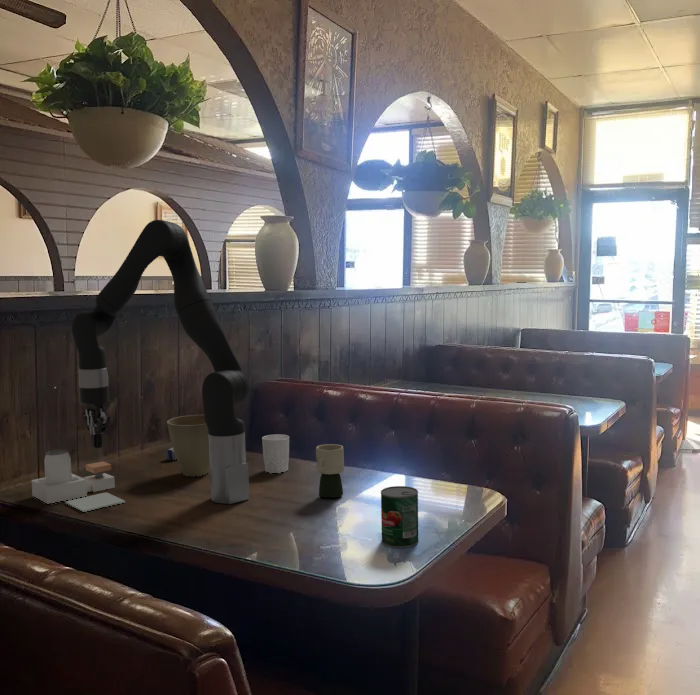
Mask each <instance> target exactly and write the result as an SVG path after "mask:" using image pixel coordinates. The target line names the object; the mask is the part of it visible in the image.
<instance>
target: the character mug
mask: <svg viewBox="0 0 700 695" xmlns="http://www.w3.org/2000/svg"><path fill="white" fill-rule="evenodd" d="M344 450H345V449H344V446H343V445H341V444H336V443H334V444H331V443H329V444H328V443H326V444H320V445H317V446H316V447H315V458H316V467H315V468H316V471H317V472H318V473H319V474H320V479H319V487H318V496H319V497H320V498H321V497H322V498H323V497H324V498H327V499H330V498H339V497H342V496H343V495H344V490H343V489H344V488H343V482H342V476H341V474H340V473H342V472H344V470H345V458H344V457H345V453H344V452H345V451H344Z"/></svg>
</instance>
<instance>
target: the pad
mask: <svg viewBox="0 0 700 695" xmlns="http://www.w3.org/2000/svg"><path fill="white" fill-rule="evenodd" d="M64 502H65V505H67V504H68V505H67V506H69V505H70V506H69V507H71V506H72V507H71V508H73V507H74V508H76V509H78V510H80V511H82V512H86V513H88V512H87V511H91V510H95V509H99V508H102V507H107V508H109V507H108V506H111V507H113V506H112V505H116V506H118V505H117V504H120V505H123V504H122V503H124V504H126V500H124V499H122V498H120V497H118V496H115V495H113V494H111V493H109V492H102V493H97V494H93V495H87V496H86V497H82V498H77V499H73V500H68V501H64ZM74 508H73V509H74ZM76 509H75V510H76ZM78 510H77V511H78ZM99 510H100V509H99ZM80 511H79V512H80ZM95 511H96V510H95ZM82 512H81V513H82ZM91 512H92V511H91Z"/></svg>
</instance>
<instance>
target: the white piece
mask: <svg viewBox="0 0 700 695" xmlns="http://www.w3.org/2000/svg"><path fill="white" fill-rule="evenodd" d="M115 482H116V481H115V476H113V475H110V474H108V473H106V472H104V473H103V478H99V479H96V478H95V474H94V475H93V474H92V475H89V476H83V477H82V476H78V475H76V474H74V473H72V481H71V482H66V483H62V484H57V485H52V486H48V485H46V480H45V477H42V478H41V477H40V478H36V479H31V490H32V491H31V493H32V494H31V495H32V497H33V496H34V497H36V498H38V499H40V500H41V501H43V502H45V503H47V504H49V503H55V502H59V503H61V502H60V501H64V502H65V501H66V500H68V501H70V500H72V499H73V500H74V499H76V498H77V499H79V498H80V497H82V498H83V497H85V496H86V497H88V492H92V491H93V492H92V493H97V491H98V492H102V491H106V489H107V490H110V489H111V490H112V489H115V488H116V484H115ZM34 497H33V498H34ZM36 498H35V499H36ZM41 501H40V502H41ZM43 502H42V503H43ZM45 503H44V504H45ZM55 504H56V503H55Z"/></svg>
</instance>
